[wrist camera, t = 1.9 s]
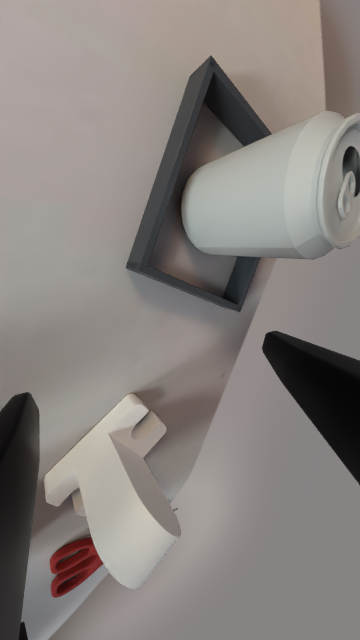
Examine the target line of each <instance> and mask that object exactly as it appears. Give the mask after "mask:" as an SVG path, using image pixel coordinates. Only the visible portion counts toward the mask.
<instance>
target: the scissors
mask: <svg viewBox="0 0 360 640" xmlns="http://www.w3.org/2000/svg"><path fill="white" fill-rule="evenodd" d="M175 510H177V508H176V509H174V510H173V511H175ZM82 549H84V550H82ZM79 550H82V551H80V552H79V553H77V554H75V555H74V556H72V557H70V558H68V559H67V560H65V561H62V562H58V561H59V560H61V559H62V558H64V557H65V556H67V555H69V554H71V553H74V552H76V551H79ZM88 557H89V558H88ZM86 558H87V559H86ZM84 559H86V560H84ZM83 560H84V561H83ZM102 564H103V562H102V560H101V559H100V557H99V555H98V552H97V550H96V548H95V546H94V543H93V540H92V537H91V538H86V539H81V540H78V541H75V542H73V543H71V544H68V545H66V546H64V547H63V548H61V549H59V550H58V551H57V552H56V553H54V554H53V556H52V557H51V560H50V569H51V572H52V573H54V574H58V573H60V574H59V575H57V576H56V577H55V579H54V580H53V581H52V585H51V593H52V596H53V597H60V596H62V595H64V594H66V593H68V592H69V591H71V590H72V589H74V588H75V587H77V586H78V585H80V584H81V583H82V582H83V581H85V580H86V579H87V578H88V577H89V576H90V575H91V574H93V573H94V572H95V571H96V570H97V569H98V568H99V567H100V566H101V565H102ZM80 572H81V573H80ZM78 573H80V574H78ZM76 574H78V575H77V576H76V577H74V578H73V579H71V580H70V581H68V582H66V583H64V584H63V585H60V584H61V583H63V582H64V581H66V580H67V579H69V578H71V577H73V576H74V575H76ZM59 585H60V586H59Z"/></svg>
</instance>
